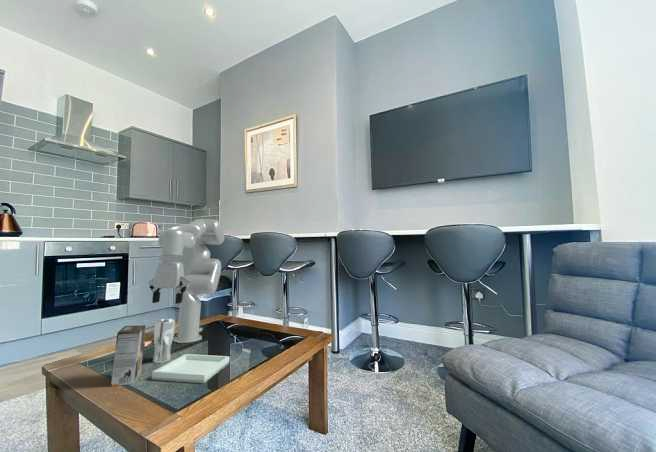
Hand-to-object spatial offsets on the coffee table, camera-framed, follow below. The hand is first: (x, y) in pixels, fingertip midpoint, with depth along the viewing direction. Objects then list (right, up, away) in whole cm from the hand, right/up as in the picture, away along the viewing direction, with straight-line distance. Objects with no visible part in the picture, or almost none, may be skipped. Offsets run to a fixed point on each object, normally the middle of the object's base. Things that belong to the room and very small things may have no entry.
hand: (167, 302), depth 110 cm
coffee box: (-1, -20, -21) cm, 28 cm away
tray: (+17, -21, -12) cm, 29 cm away
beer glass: (-1, -22, -3) cm, 22 cm away
